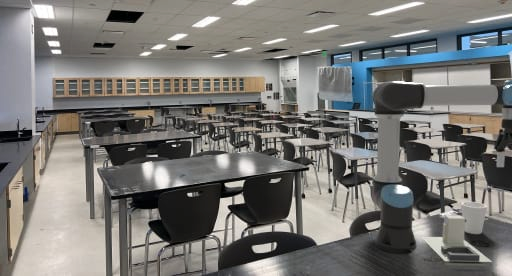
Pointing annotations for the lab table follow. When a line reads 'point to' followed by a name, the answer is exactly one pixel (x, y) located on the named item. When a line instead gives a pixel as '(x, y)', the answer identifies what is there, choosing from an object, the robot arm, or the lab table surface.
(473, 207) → the foam cup
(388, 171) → the robot arm
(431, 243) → the board
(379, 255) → the lab table surface
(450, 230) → the plug
